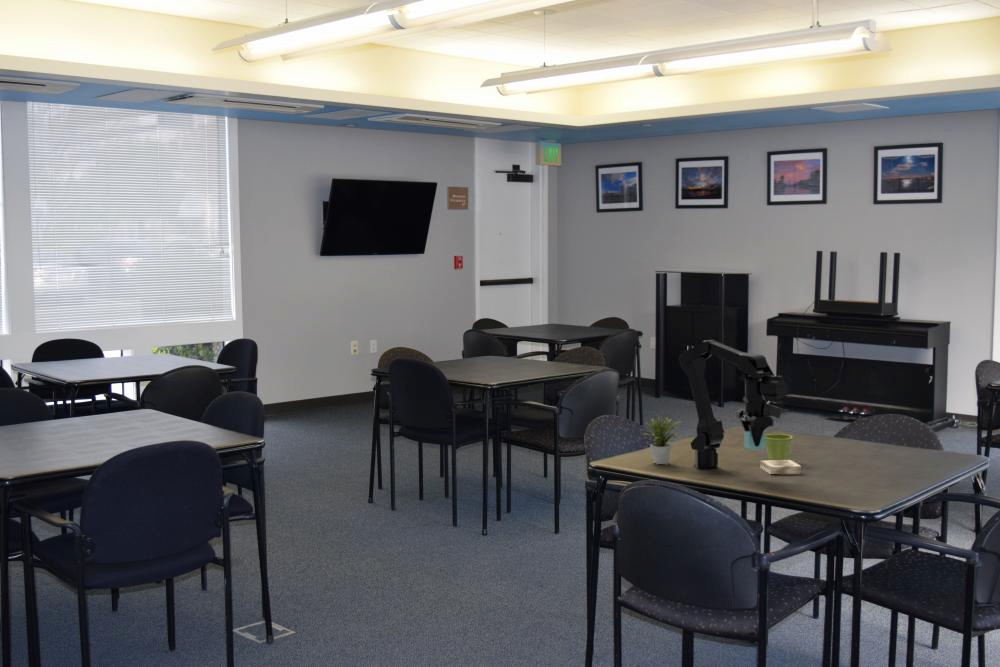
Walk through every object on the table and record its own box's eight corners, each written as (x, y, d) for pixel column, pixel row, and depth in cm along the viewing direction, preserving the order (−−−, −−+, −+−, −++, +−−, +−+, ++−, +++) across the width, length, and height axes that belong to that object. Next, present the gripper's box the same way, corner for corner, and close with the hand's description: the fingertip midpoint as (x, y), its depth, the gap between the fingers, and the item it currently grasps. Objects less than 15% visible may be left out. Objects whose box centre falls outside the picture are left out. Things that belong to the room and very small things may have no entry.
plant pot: (767, 464, 334) (767, 439, 333) (760, 459, 344) (760, 434, 343) (795, 464, 334) (795, 438, 333) (788, 458, 343) (788, 433, 343)
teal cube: (749, 449, 313) (749, 433, 313) (744, 446, 318) (744, 431, 318) (764, 449, 314) (764, 433, 313) (759, 446, 319) (759, 430, 318)
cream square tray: (770, 474, 319) (770, 466, 319) (760, 468, 329) (760, 460, 329) (801, 473, 320) (801, 465, 320) (790, 467, 330) (790, 459, 330)
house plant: (679, 469, 329) (679, 419, 328) (637, 467, 334) (637, 418, 332) (685, 460, 343) (685, 413, 341) (645, 458, 347) (645, 411, 346)
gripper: (790, 398, 306) (790, 449, 307) (769, 390, 325) (769, 438, 326) (754, 399, 305) (754, 450, 306) (735, 391, 324) (735, 439, 325)
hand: (754, 444), depth 316 cm, fingers closed on teal cube, 5 cm apart
